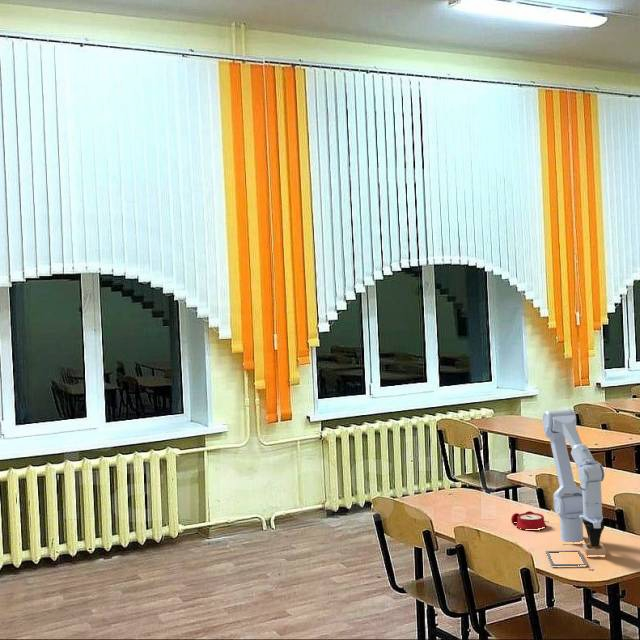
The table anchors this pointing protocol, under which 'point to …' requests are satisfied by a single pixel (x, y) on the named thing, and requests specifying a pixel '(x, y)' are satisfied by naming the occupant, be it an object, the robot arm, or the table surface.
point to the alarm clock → (529, 520)
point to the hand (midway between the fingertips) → (594, 544)
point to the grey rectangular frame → (565, 564)
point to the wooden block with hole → (594, 550)
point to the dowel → (591, 546)
